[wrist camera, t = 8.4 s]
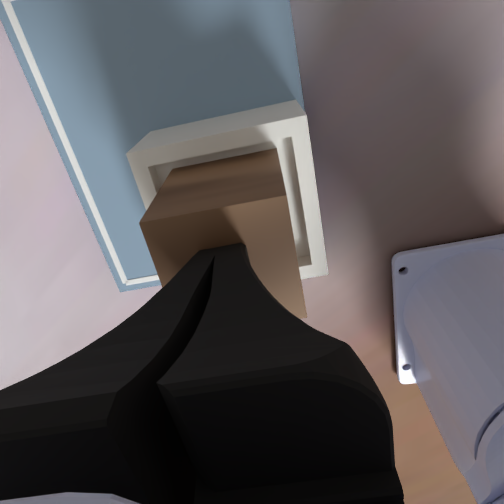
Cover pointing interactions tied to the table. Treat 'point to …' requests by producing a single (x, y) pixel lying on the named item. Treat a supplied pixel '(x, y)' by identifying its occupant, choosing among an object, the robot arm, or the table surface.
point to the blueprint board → (165, 106)
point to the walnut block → (228, 221)
